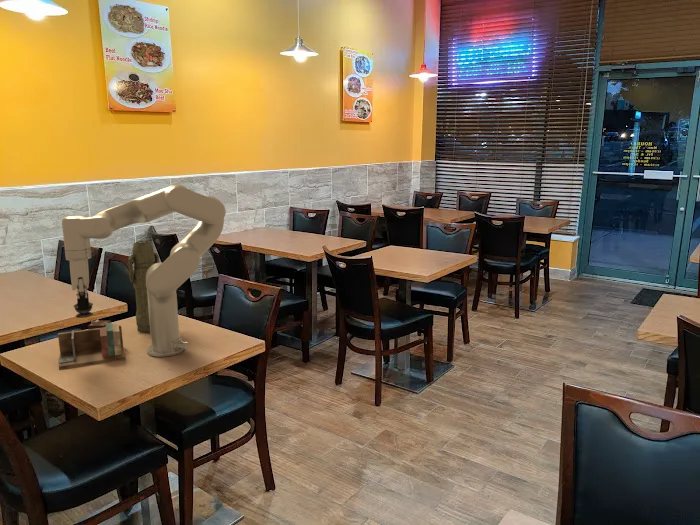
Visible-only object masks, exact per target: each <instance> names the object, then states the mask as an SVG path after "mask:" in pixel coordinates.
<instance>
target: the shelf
mask: <svg viewBox="0 0 700 525" xmlns="http://www.w3.org/2000/svg"><path fill="white" fill-rule="evenodd" d="M74 334H75V343H76V361H74V362H68V363H61V364H59V363H58V370H63V369H70V368H78V367H84V366H90V365H96V364H97V365H98V364H103V363H110V362H117V361H123V360H126V353H125V349H124V348H125V347H124V342H123V341H124V339H123V330H122V324H119V323H118V322H115V323H113V322H111V323H106V327H103V328H96V329H88V328H87V329H82V330H74ZM57 337H58V346H59V352H60V353H66V352H73V348H72V331H66V332H58V333H57ZM60 353H59V354H60Z"/></svg>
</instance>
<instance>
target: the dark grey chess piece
mask: <svg viewBox="0 0 700 525" xmlns="http://www.w3.org/2000/svg"><path fill="white" fill-rule="evenodd" d="M84 285H85V284H84ZM78 289H79V288H78ZM83 289H85V287H83ZM84 292H85V291H84ZM87 294H88V295H89V292H88V293H87ZM76 296H77V298H76V299H78V295H77V293H76ZM87 298H89V296H88V297H87ZM88 302H89V310H81V311H79V310H78V303H76V304H74V305H73V309H74V310H75V312H77V314H76V315H75V318H78V319H83V318H89V317H92V316H93V315H94V313H93V312H91V310H92V309H93V306H94V303H92V302H90V300H89V301H88Z"/></svg>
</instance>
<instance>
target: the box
mask: <svg viewBox="0 0 700 525" xmlns="http://www.w3.org/2000/svg"><path fill="white" fill-rule="evenodd" d="M106 323H112V320H94V321H93V322H91V323H90V324H88V325H87V330H88V329H96V328H103V327H106Z"/></svg>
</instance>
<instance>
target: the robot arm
mask: <svg viewBox="0 0 700 525" xmlns="http://www.w3.org/2000/svg"><path fill="white" fill-rule="evenodd" d="M173 213H177V214H180V215H182V216H185V217H189V218H190V219H194V220H196V221H198V223H197V224H196V225H195V227H193V228H192V229H191V231H190V232H189V233H187V235H186V236H185V237H183V238H182V239H181V240H180V241H179V242H177V243H176V244H175V245H174V246H173V247H172V248H171V250H170V253H169V256H168V257H167V258H166V259H165V260H164V261H163V262H159V263H155V262H154V264H153V265H152V266H151V267H150V268H149V269H148V271H147V273H146V287H147V294H148V308H149V322H150V345H149V346H148V347H147V349H146V353H147V354H148V355H149V356H152V357H159V358H161V357H162V358H164V357H172V356H174V355H175V356H176V355H178V354H181V353H182V352H183V351H184V350H188V346H189V342H188V341H183V337H182V336H180V328H179V325H180V324H179V314H178V298H177V297H178V296H177V290H178V288H180V287H181V286H182V285H183V284H184V283H185V282H186V281H187V280H188V279H189V278H190V277H191V276H193V275H194V274H195V272H196V271H197V270H198V268H199V266H200V264H201V257H202V256H203V255H204V254H205V253H206V252H207V251H208V250H209V249H210V248H211V247H212V246H213V245H214V244H215V243H216V242H217V240H218V239H219V238H220V236H221V234H222V232H223V229H224V224H225V216H226V208H225V205H224V203H223V202H222V201H220V199H218V197H217V198H216V197H215V196H209V195H208V196H206V195H203V194H201V193H199V192H196V191H194V190H191V189H190V188H189V189H188V187H186V186H185V185H183V184H172V185H170V186H167V187H163V188H162V189H159V190H156V191H153V192H151V193H149V194H146V195H143V196H139V197H138V198H134V199H132V200H130V201H128V202H125V203H122V204H119V205H116V206H114V207H113V206H112V207H111V208H107V209H106V210H103V211H100V212H98V213H96V214H95V215H93V216H92V217H86V216H84V215H68V216H65V217H63V218H62V220H61V226H62V236H63V245H64V254H65V255H64V256H65V260H66V261H69V270H70V271H69V272H70V273H69V274H70V281H71V290H72V291H75V290H76V294H77V295H78V298H76V299H77V300H76V301H77V303H78V310H79V311H81V310H89V302H90V300H89V292H88V289H89V283H90V271H89V259H90V260H91V258H92V249H91V239H94V240H95V239H96V240H103V239H107V238H109V237H111V235H112V234H113V232H115V231H118V230H119V229H122V228H125V227H127V226H131V225H135V224H143V223H144V224H145V223H150V222H152V221H154V220H157V219H161V218H162V217H165V216H168V215H171V214H173ZM84 284H85V285H84ZM83 287H85V289H83ZM78 288H79V289H78ZM84 291H85V292H84ZM87 293H88V294H87ZM77 295H76V296H77ZM87 297H88V298H87ZM88 301H89V302H88ZM77 303H76V304H77Z"/></svg>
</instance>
